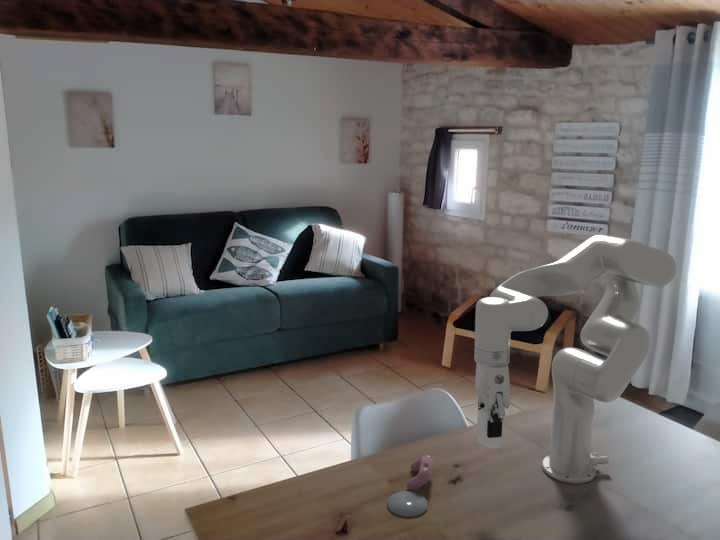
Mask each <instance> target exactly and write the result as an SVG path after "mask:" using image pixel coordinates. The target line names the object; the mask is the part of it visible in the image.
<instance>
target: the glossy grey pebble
mask: <svg viewBox="0 0 720 540" xmlns="http://www.w3.org/2000/svg"><path fill="white" fill-rule="evenodd" d="M387 507H388V510H390V512H391V513H393V514H395V515H398V516H400V517H404V518H414V517H415V518H416V517H419V516H421V515H423V514H424V513H425V512H426V511H427V509H428V507H429V506H428V500H427V499H426V497H425V496H423V495H422V494H420V493H418V492H414V491H411V490H410V491H409V490H407V491H406V490H404V491H403V490H402V491H398V492H394V493H393V494H392V495H389V497H388V499H387Z"/></svg>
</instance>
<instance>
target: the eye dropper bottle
mask: <svg viewBox="0 0 720 540" xmlns="http://www.w3.org/2000/svg"><path fill="white" fill-rule="evenodd" d="M492 407H496V404H494V405H492ZM480 408H481V407H480ZM495 413H497V410H493V415H494V414H495ZM488 420H489V411H488V408H487V407H486V406H485V408H481V409H480V410H479V411H477V422H476V441H477V443H479V444H480V445H481V446H484V447H486V448H489V449H494V450H496V449H498V448H500V447H502V445H503V443H502V442H503V441H502V440H503V435H502V436H501V437H496V438H488V437H487V421H488Z"/></svg>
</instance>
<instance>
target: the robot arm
mask: <svg viewBox="0 0 720 540" xmlns="http://www.w3.org/2000/svg"><path fill="white" fill-rule="evenodd" d="M676 272H677V264H676V261H675V258H674V257H673V256H672V255H671V254H670V253H669V252H667V251H665V250H662V249H659V248H657V247H653V246H651V245H648V244H645V243H643V242H641V241H636V240H634V239H629V238H625V237H620V236H613V235H609V234H595V235H593V236H590V237H588V238H587V239H585V240H584V241H582V242H581V243H580V244H579V245H577V246H576V247H574V248H573V249H571V250H570V251H568V252H567V253H566V254H564V255H563V256H561V257H560V258H559V259H557V260H556V261H554V262H551V263H548V264H544V265H541V266H536V267H533V268H530V269H526V270H524V271H520V272H517V274H514V275H513V276H511V277H509V278H508V279H507V280H505V281H504V282H502V283H501V284H499V285H498V286H496V288H495V289H493V291H492V292H491V293H490V295H489V296H487V297H482V298H479V300H478V301H477V302H476V305H475V319H474V325H475V326H474V355H473V356H474V359H473V361H474V362H475V363H476V366H475V367H476V368H475V375H474V376H475V378H474V379H475V381H474V382H475V383H474V385H475V386H474V388H475V389H474V390H475V393H476V396H477V398H478V401H477V405H478V406H477V407H478V408H477V410H478V411H479V410H480V409H481V408H485V406H486V407H487V408H488V411H489V420H488V421H487V437H488V438H496V437H501V436H502V437H503V421H504V417H505V416H506V415H507V414H506V410H505V409H509V408H510V405H511V384H510V380H511V379H510V369H509V364H510V361H511V360H510V359H511V358H510V355H511V336H512V335H511V333H512V332H517V331H518V332H527V331H528V332H530V331H534V330H538V329H539V328H541V327H543V325H544V324H545V323H546V322H547V319H548V316H549V310H548V307H547V305H546V303H545V302H544V301H543V300H541V299H540V297H547V296H568V295H574V294H577V293H579V292H580V291H582V290H583V289H585V287H587V286H589V284H591V283H592V282H593V281H595V280H597V278H599V277H600V276H602V275H604V274H605V276H606V287H605V292H604V295H603V296H602V298H601V300H600V301H599V303H598V304H597V305H596V306H595V308H594V309H593V312H592V313H591V315H590V316H589V317H588V319H587V320H586V322H585V324H584V326H583V327H582V328H581V331H580V336H579V337H580V341H581V342H582V345H583V346H585V347H586V348H588V349H590V350H592V351H593V352H597V353H599V354H600V355H601V354H602V355H603V356H606V357H607V358H604V357H601V356H598V355H597V354H595V353H591V352H589V351H586V350H583V349H582V348H577V347H569V346H568V347H565V348H562V349H560V350H558V351H557V352H556V353H555V355H554V357H553V359H552V361H551V379H552V384H553V404H552V414H551V415H552V416H551V417H552V418H551V428H550V429H551V430H550V442H549V455H547V456H546V457H544V458H543V460H542V463H541V464H542V465H541V467H542V470H543V472H545V473H546V474H547V475H548V476H550V477H551V478H553V479H555V480H557V481H560V482H563V483H569V484H585V483H589V482H590V481H593V480H594V479H595V476H596V468H595V467H596V466H597V465H608V464H609V457H608V456H607V455H600V456H599V453H598V452H597V451H596V452H591V451H592V439H593V427H594V417H595V401H594V400H596V401H598V402H599V403H600V402H601V403H605V404H606V403H612V402H614V401H616V400H617V399H618V398H619V397H620V396H621V395H622V394H623V392H624V391H625V390H626V388H627V387H628V385H629V384H630V382H631V381H632V379H633V378H634V376H635V375H636V374H637V372H638V370H639V369H640V367H641V366H642V364H643V363H644V361H645V359H646V358H647V356H648V353H649V350H650V346H651V336H650V333H649V332H648V330H647V329H646V328H645V327H644V326H643V325H641V324H638V323H636V322H634V321H633V320H634V318H635V316H636V315H637V313H638V311H639V309H640V296H639V292H638V288H637V284H641V285H644V286H648V287H651V288H662V287H664V286H667V285H669V284H670V283H671V282H672V281H673V279H674V278H675V275H676ZM636 283H637V284H636ZM494 404H496V407H492V405H494ZM493 410H497V413H495V414H494V415H493ZM478 411H477V412H478Z"/></svg>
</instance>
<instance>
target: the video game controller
mask: <svg viewBox="0 0 720 540" xmlns="http://www.w3.org/2000/svg"><path fill="white" fill-rule="evenodd" d="M434 460H435V458H434V457H433V456H431V455H427V454H425V455H422V456H421V457H420V458H418V459H417V460H415V461H413V462H412V463H411V464H410V470H411V471H412V472H418V473H417V475H415V476H414V477H413V478H410V479H409V480H408V481H407V482H406V485H405V486H406V489H408V490H410V491H412V490H417V489H420V488H421V487H423V486H424V485H426V484H427V483H428V481H429V482H431V481H432V480H433V476H432V473H433V472H432V467H433V463H434Z"/></svg>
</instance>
